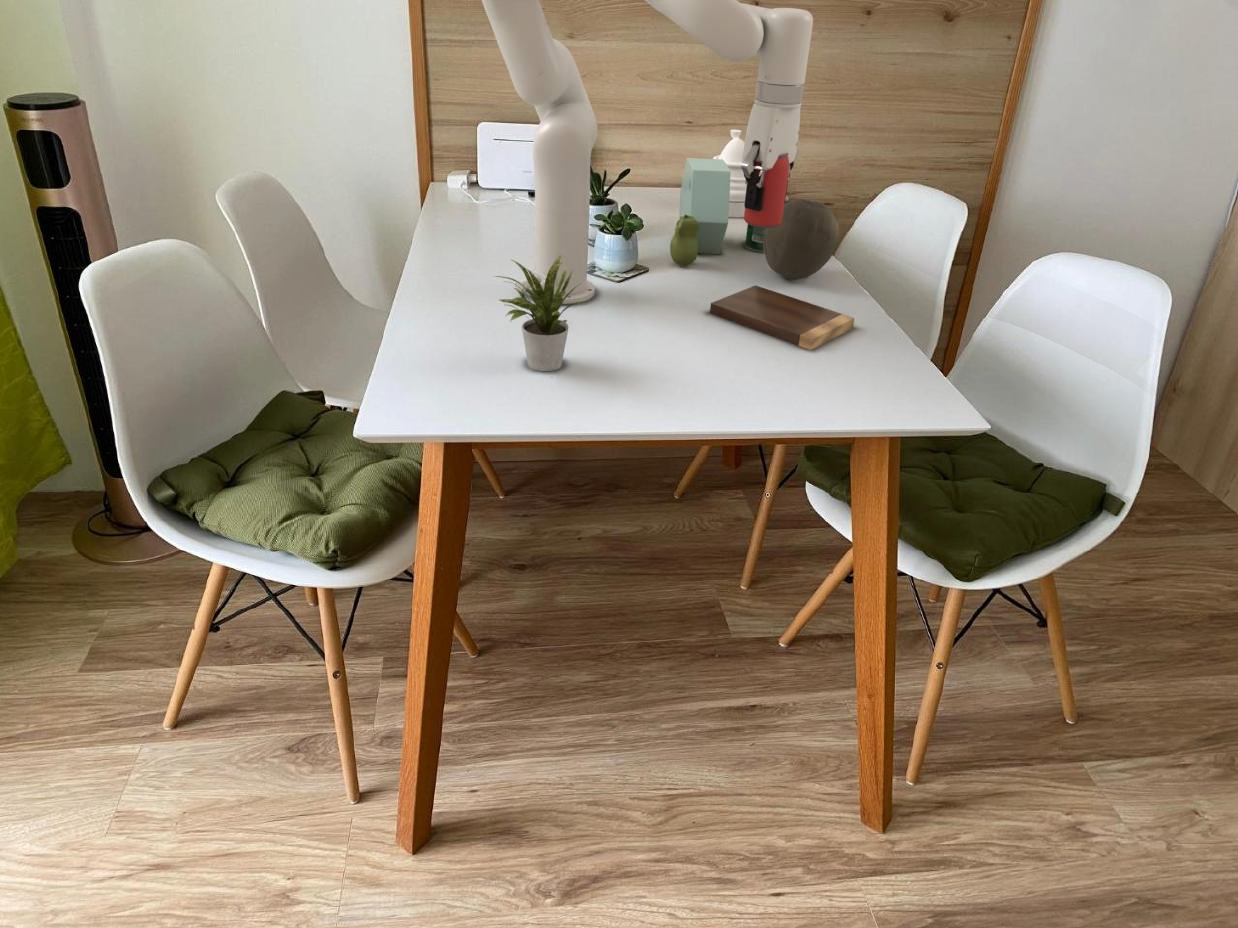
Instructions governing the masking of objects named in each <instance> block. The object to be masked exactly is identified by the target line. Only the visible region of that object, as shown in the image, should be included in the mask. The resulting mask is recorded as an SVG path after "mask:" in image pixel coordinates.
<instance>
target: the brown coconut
mask: <svg viewBox="0 0 1238 928" xmlns="http://www.w3.org/2000/svg"><path fill="white" fill-rule="evenodd" d="M839 241H840V226H839V223H838V220H837V218H836V216H835V215H834V214H833V212H832V210H831V209H830V208H829V207H828V206H827V205H824V204H823V203H822V202H818V201H812V200H809V199H804V198H799V199H794V200H790V201H788V203H785V204H784V210H783V217H782V223H781V224H780V225H778V226H776V227H772V228H766V230H765V233H764V238H763V249H764V253H763V254H764V258H765V261H766V263H767V265H768V267H769V268H770V269H771V270H772V271H774V273H776V274H778V275H780V276H782V277H783V278H785V279H786V280H789V281H796V280H801V279H806V278H808V277H811V276H813V275H814V274H816V273H817V272H819V271H820V270H821V269H822V268H824V266H825V265H826V264H827V263H828V262H829V261H830V259H831V258H832V256H833V255H834V253H835V251H836V249H837V247H838V244H839Z"/></svg>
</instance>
